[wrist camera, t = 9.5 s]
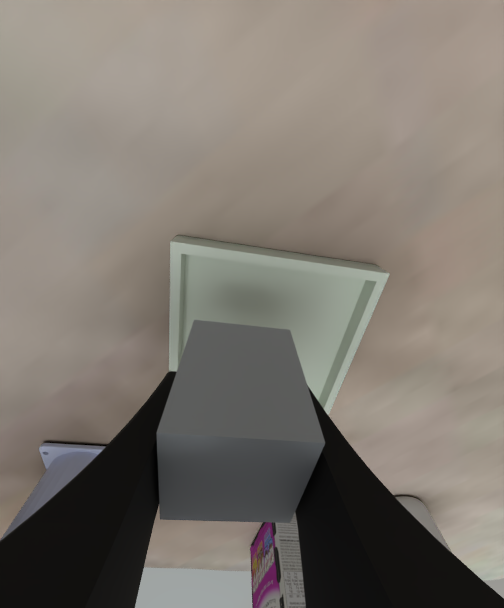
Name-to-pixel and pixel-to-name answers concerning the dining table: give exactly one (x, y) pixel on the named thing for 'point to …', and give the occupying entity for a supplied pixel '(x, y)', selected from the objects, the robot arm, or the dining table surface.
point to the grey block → (237, 428)
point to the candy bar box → (277, 567)
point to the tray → (276, 302)
